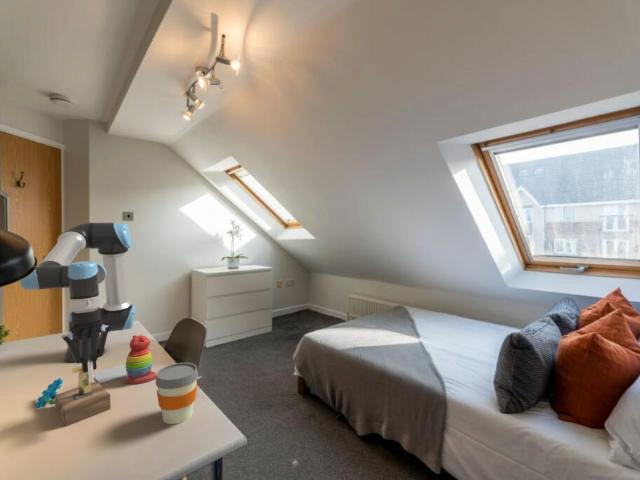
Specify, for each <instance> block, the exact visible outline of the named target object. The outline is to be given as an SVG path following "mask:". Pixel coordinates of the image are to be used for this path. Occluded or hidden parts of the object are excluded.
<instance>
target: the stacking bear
mask: <svg viewBox="0 0 640 480" xmlns="http://www.w3.org/2000/svg"><path fill="white" fill-rule="evenodd" d="M150 344H151V340H150V339H149V338H148V337H147V336H146V335H143V334H141V335H136V334H134V335H133V336H132V339H131V340H130V341H129V348H130V349H131V350H130V351H129V353H128V354H127V356H126V362H125V366H126V371H127V376H126V377H127V378H126V384H129V385H138V384H145V383H147V382H150V381H153V380H156V375H157V372H156V371H155V372H154V371H152V367H153V356H152V353H151V350H150V349H149V346H150Z"/></svg>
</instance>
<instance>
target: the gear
mask: <svg viewBox="0 0 640 480" xmlns="http://www.w3.org/2000/svg"><path fill="white" fill-rule="evenodd" d="M63 383H64V379H62V378H60V377H59V378H58V379H55V380H53V381H52V383H49V385H47V389H44V390H43V391H42V392H41V394H42V396H38V398H37V401H36V403H35V404H34V406H35V408H37V409H40V408H41V407H42V408H43V407H45V406H46V404H47V403H49V405H50V406H51V405H52V406H53V405H55V395H57V394H58V391H57V390H60V389H61V388H62V384H63Z"/></svg>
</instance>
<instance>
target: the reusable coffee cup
mask: <svg viewBox="0 0 640 480" xmlns="http://www.w3.org/2000/svg"><path fill="white" fill-rule="evenodd" d="M156 373H157V375H156V379H155V386H156V387H157V390H156V395H157V401H158V406H159V408H160V410H161V415H162V421H163V423H165V424H167V425H177V424H181V423H183V422H186V421H187V420H189V419H190V418H191V417H192V416H193V413H194V404H195V401H196V399H197V391H198V382H197V380H198V377H199V373H198V366H197V365H196V364H194V363H191V362H178V363H172V364H169V365H167V366H165V367H164V366H163V367H162V368H160V369H159V370H158V371H157V372H156Z"/></svg>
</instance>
